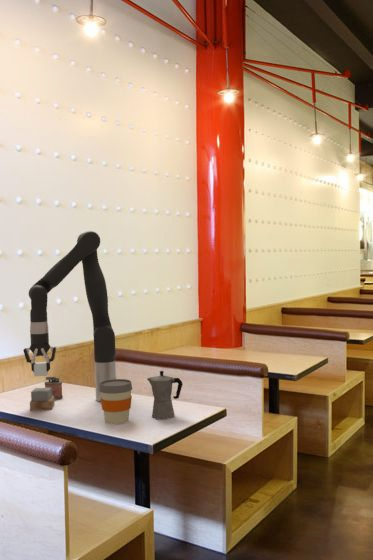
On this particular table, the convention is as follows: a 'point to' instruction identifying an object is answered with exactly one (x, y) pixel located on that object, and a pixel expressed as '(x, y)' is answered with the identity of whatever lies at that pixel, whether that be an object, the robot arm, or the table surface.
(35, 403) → the walnut block
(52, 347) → the robot arm
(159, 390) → the coffeepot
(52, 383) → the lighter
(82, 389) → the table surface
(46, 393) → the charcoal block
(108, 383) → the reusable coffee cup
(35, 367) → the top block
